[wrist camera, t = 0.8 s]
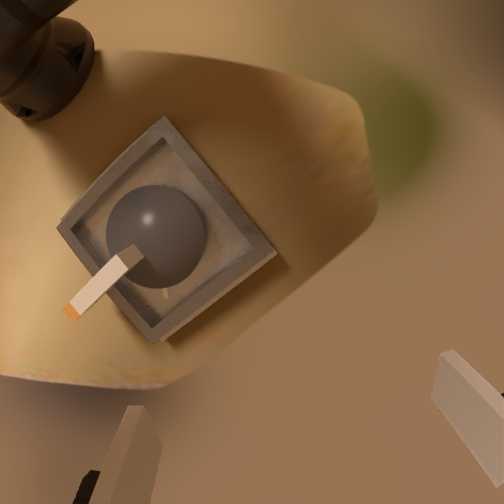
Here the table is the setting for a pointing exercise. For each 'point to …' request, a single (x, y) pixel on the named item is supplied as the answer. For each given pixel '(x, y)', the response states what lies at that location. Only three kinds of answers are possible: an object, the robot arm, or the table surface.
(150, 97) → the table surface
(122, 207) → the grey dome with handle
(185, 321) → the grey rectangular tray
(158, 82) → the table surface
